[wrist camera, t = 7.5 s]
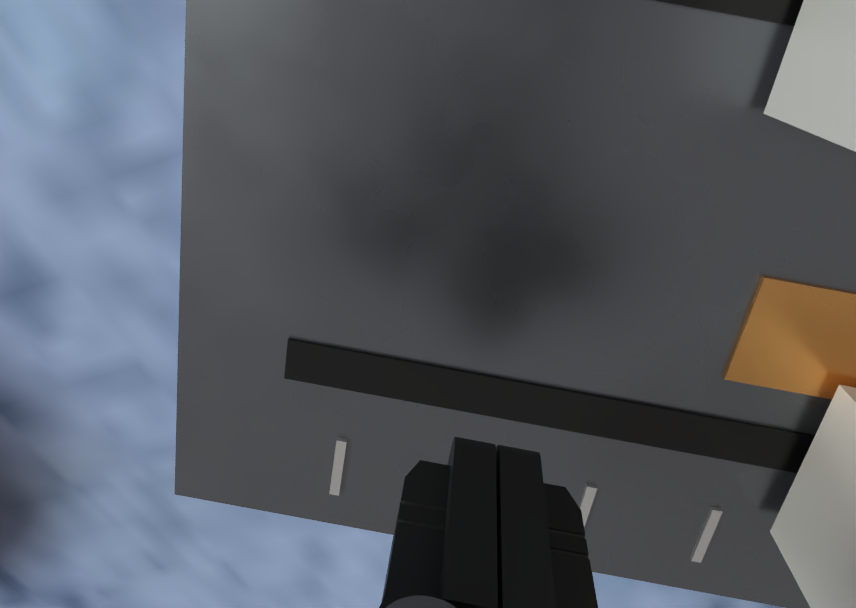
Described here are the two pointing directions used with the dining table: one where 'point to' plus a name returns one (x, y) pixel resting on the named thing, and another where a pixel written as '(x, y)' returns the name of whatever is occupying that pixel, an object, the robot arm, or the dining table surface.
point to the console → (512, 266)
